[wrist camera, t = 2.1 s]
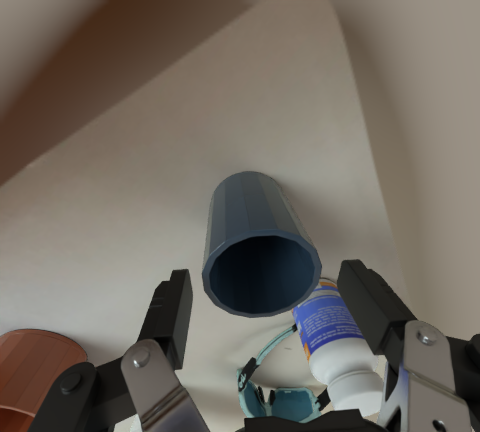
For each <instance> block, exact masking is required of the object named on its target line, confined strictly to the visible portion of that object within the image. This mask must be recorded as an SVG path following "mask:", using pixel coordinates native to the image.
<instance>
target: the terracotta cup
mask: <svg viewBox="0 0 480 432" xmlns="http://www.w3.org/2000/svg"><path fill="white" fill-rule="evenodd" d="M81 362H87V355H86V353H85V351H84V350H83V348H81V347H80V346H79V345H78V344H77V343H76V342H74V341H72V340H71V339H69V338H67V337H64V336H62V335H59V334H56V333H52V332H49V331H43V330H35V329H22V330H15V331H10V332H7V333H5V334H3V335H1V336H0V432H27V430H28V428H29V426H30V424H31V423H32V421H33V419H34V417H35V415H36V413H37V411H38V410H39V408H40V406H41V404H42V402H43V400H44V398H45V396H46V395H47V393H48V391H49V389H50V387H51V385H52V384H53V382H54V381H55V380H56V378H57V377H58V376H59V375H60V374H61V373H62V372H63V371H65V370H66V369H67V368H69V367H71V366H72V365H75V364H77V363H81Z"/></svg>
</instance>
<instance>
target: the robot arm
mask: <svg viewBox="0 0 480 432" xmlns="http://www.w3.org/2000/svg"><path fill="white" fill-rule="evenodd" d="M337 289H338V292H339V294H340V296H341V298H342V300H343V301H344V303H345V305H346V307H347V308H348V310H349V312H350V314H351V316H352V317H353V319H354V321H355V323H356V324H357V326H358V328H359V330H360V332H361V333H362V335H363V337H364V339H365V340H366V342H367V344H368V346H369V348H370V349H371V351H372V353H373V355H374V356H376V355H385V357H386V359H387V362H386V366H385V375H384V384H383V394H382V403H381V409H380V412H379V416H378V419H377V423H374V422H372V421H369V420H367V419H363V417H362V415H361V413H360V410H359V408H358V409H346V410H335V411H330V412H327V413H325V414H323V415H321V416H319V417H317V418H315V419H313V420H311V421H309V422H306V423H301V422H296V421H292V420H288V419H284V418H280V417H276V416H264V417H253V418H244V425H245V427H243V428H241V429H239V430H237V431H236V432H472V429H471V426H472V428H473V429H474V431H475V432H480V334H476V335H474V336H473V337H472V338H471V340H470V341H466V340H461V339H457V338H452V337H448V336H444V335H443V334H442V333H441V332H440V331H439V330H438V329H437V328H435V327H434V326H432V325H430V324H428V323H426V322H423V321H419V320H417V318H416V317H415V316H414V315H413V314H412V312H411V311H410V310H409V309H408V308H407V306H406V305H405V304H404V303H403V302H402V300H401V299H400V298H399V297H398V296H397V294H396V293H394V291H393V290H392V289H391V287H390V286H388V284H387V283H386V281H385V280H384V279H383V278H382V277H381V276H380V275H379V274H377V273H376V272H375V271H373V270H372V269H367V268H366V267H365V265H364V264H363V263H362V262H361V261H360V260H358V259H356V260H344V261H342V264H341V268H340V272H339V276H338V280H337ZM192 301H193V292H192V285H191V280H190V274H189V270H188V269H181V270H173V271H172V274H171V277H170V281H162V282H161V283H160V284H159V286H158V287H157V288H156V289H155V292H154V295H153V297H152V301H151V303H150V306H149V309H148V312H147V314H146V317H145V320H144V323H143V326H142V329H141V332H140V334H139V337H138V340H137V342H136V343H135V344H134V345H132V346H131V347H130V348H129V349H128V350H127V351H126V353H125V354H124V355H123V356H122V357H120V358H118V359H116V360H114V361H111V362H108V363H106V364H103V365H101V366H98V367H94V365H93V364H92V363H89V362H81V363H77V364H75V365H72V366H71V367H69V368H67V369H66V370H65V371H63V372H62V373H61V374H60V375H59V376H58V377H57V378H56V380H55V381H54V382H53V384H52V385H51V387H50V389H49V391H48V393H47V395H46V396H45V398H44V400H43V402H42V404H41V406H40V408H39V410H38V411H37V413H36V415H35V417H34V419H33V421H32V423H31V424H30V426H29V428H28V430H27V432H113V431H114V428H115V424H116V423H118V422H120V421H123V420H125V419H127V418H129V417H131V416H133V415H135V414H138V416H139V419H140V423H141V429H142V432H210V430H209V429H208V427H207V425H206V423H205V421H204V420H203V418H202V416H201V414H200V413H199V411H198V409H197V407H196V405H195V404H194V402H193V400H192V398H191V397H190V395H189V393H188V392H187V390H186V389H185V388H183V386H182V385H181V383H180V381H179V379H178V378H177V376H176V374H175V370H180V369H182V367H183V360H184V354H185V347H186V341H187V334H188V328H189V321H190V315H191V308H192Z"/></svg>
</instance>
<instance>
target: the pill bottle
mask: <svg viewBox="0 0 480 432" xmlns="http://www.w3.org/2000/svg"><path fill="white" fill-rule="evenodd" d="M292 313H293V316H294V319H295V323H296V326H297V329H298V332H299V335H300V338H301V341H302V344H303V347H304V351H305V354H306V357H307V360H308V363H309V366H310V369H311V372H312V374H313V376H314V377H315V378H316V379H317V380H318V381H319V382H321V383H323V384H325V385H328V387H327V391H328V395H329V398H330V400H331V403H332V405H333V408H334V410H346V409H358V408H359V410H360V413H361V415H362V417H364V416H368V415H371V414H374V413H377V412H379V411H380V409H381V403H382V394H383V384H384V382H383V380H382V378H381V377H380V376H379V375H378V374H377V373H376V372H374V371H375V369H376V367H377V365H378V355H376V356H374V355H373V353H372V351H371V349H370V348H369V346H368V344H367V342H366V340H365V339H364V337H363V335H362V333H361V332H360V330H359V328H358V326H357V324H356V323H355V321H354V319H353V317H352V316H351V314H350V312H349V310H348V308H347V307H346V305H345V303H344V301H343V300H342V298H341V296H340V294H339V292H338V289H337V285H336V284H335V283H334V282H332V281H330V280H327V279H319V283H318V285H317V287H316V288H315V289H314V291H313V292H312V293H311V295H310V296H309V297H308V298H307V299H306V300H305V301H303V302H302V303H300V304H299V305H297V306H296V307H295V308H293V309H292Z"/></svg>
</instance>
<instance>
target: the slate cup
mask: <svg viewBox="0 0 480 432" xmlns="http://www.w3.org/2000/svg"><path fill="white" fill-rule="evenodd" d="M321 270H322V265H321V262H320V259H319V256H318V253H317V250H316V248H315V246H314V245H313V243H312V241H311V239H310V238H309V236H308V234H307V232H306V231H305V229H304V227H303V225H302V224H301V222H300V220H299V218H298V217H297V215H296V213H295V211H294V210H293V208H292V206H291V204H290V203H289V201H288V199H287V197H286V196H285V194H284V192H283V190H282V189H281V188H280V187H279V185H278V184H277V183H276V182H275V181H274V180H273V179H272V178H270V177H268V176H267V175H264V174H262V173H258V172H241V173H237V174H234V175H232V176H230V177H228V178H226V179H225V180H224V181H223V182H221V183H220V184H219V186H218V187H217V188H216V190H215V191H214V194H213V196H212V199H211V203H210V209H209V217H208V226H207V234H206V243H205V251H204V260H203V268H202V279H203V286H204V291H205V293H206V294H207V295H208V297H209V298H210V299H211V301H212V302H213V303H214V304H215V305H216V306H218V307H219V308H221V309H223V310H225V311H226V312H228V313H230V314H233V315H238V316H243V317H248V318H257V317H271V316H274V315H277V314H280V313H283V312H286V311H289V310H292V309H293V308H295V307H296V306H297V305H299V304H300V303H302V302H303V301H305V300H306V299H307V298H308V297H309V296H310V295H311V293H312V292H313V291H314V289H315V288H316V287H317V285H318V283H319V279H320V274H321Z"/></svg>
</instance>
